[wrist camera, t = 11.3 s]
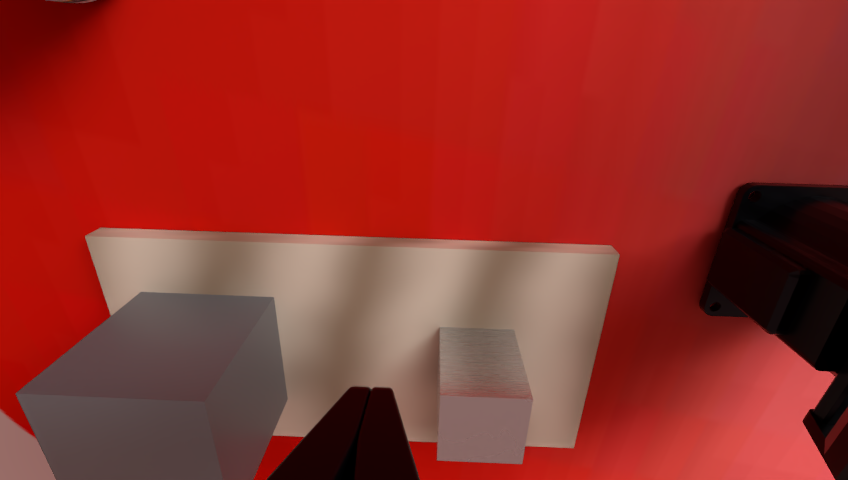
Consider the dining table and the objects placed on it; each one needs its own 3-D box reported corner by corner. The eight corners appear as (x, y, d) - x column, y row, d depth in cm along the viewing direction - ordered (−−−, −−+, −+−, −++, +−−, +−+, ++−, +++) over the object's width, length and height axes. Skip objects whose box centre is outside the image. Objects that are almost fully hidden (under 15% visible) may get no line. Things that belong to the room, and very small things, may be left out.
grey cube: (514, 329, 21) (533, 399, 16) (506, 386, 22) (522, 464, 18) (439, 326, 21) (440, 395, 16) (437, 384, 22) (436, 460, 18)
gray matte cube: (273, 297, 20) (204, 401, 14) (287, 399, 23) (233, 524, 17) (140, 291, 20) (15, 393, 14) (169, 394, 23) (74, 516, 17)
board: (611, 245, 20) (619, 254, 19) (568, 433, 25) (573, 448, 24) (100, 227, 20) (84, 236, 19) (159, 416, 25) (148, 430, 24)
